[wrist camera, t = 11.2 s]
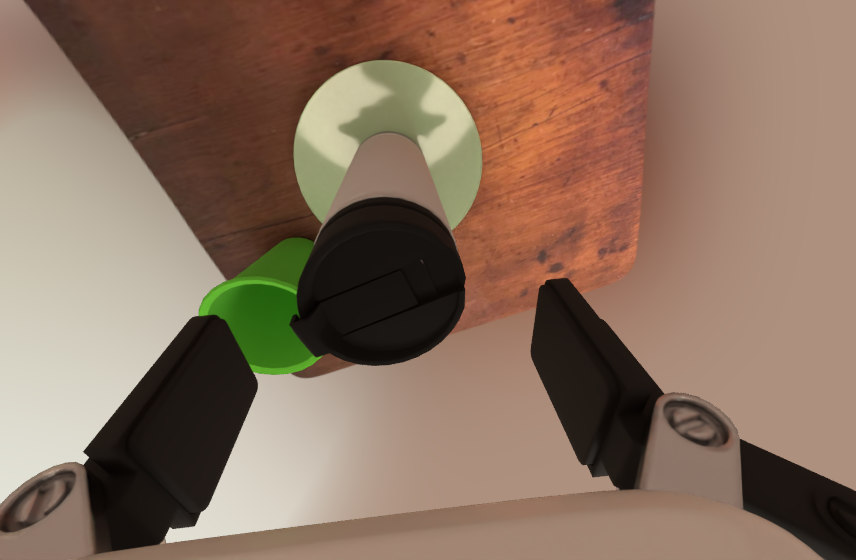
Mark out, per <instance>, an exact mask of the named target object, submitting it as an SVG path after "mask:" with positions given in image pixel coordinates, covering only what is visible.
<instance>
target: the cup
mask: <svg viewBox="0 0 856 560" xmlns="http://www.w3.org/2000/svg"><path fill="white" fill-rule="evenodd" d="M313 247H314V242H313V241H311V240H308V239H305V238H300V237H299V238H289V239H285V240H283V241H282V242H280V243H278V244H277V245H276V246H275V247H273V248H272V249H271V250H270V251H268V252H267V253H266V254H264V255H263V256H262V257H261V258H259V259H258V260H257V261H255V262H254V263H253V264H252V265H250V266H249V267H248V268H247V269H245V270H244V271H243V272H241V273H240V274H239V275H238V276H236V277H235V278H234V279H232V280H229V281H225V282H223V283H222V284H220V285H218V286H216V287H215V288H213V289H212V290H211V291H210V292H209V293H208V294H207V295H206V296H205V297H204V298H203V301H202V303H201V305H200V308H199V316H204V315H217V316H219V317H220V319H224V320H226V322H227V324H228V325H229V327H230V329H231V331H232V333H233V335H234V337H235V339H236V341H237V343H238V344H239V346H240V348H241V350H242V352H243V354H244V356H245V358H246V360H247V362H248V364H249V365H250V367H251V369H252V371H253V372H256V373H260V374H271V375H278V374H289V373H293V372H297V371H301V370H303V369H305V368H307V367H309V366H311V365H312V364H313V363H315V362H316V361H317V360H318V359H320V358H321V357H322V356H320V357H317V358H316V357H315V356H314V355H313V354H312V353H311V352H310V351H309V350H308V349H307V348H306V346H305V345H304V344H303V343H302V342H301V341H300V339H299V338H298V337H297V336H296V334H295V333H294V332H293V330H292V328H291V327H290V326H289V324H290V321H291V318H292V316H293V315H295V314H297V315H298V316H299V313H298V308H297V298H296V293H297V288H298V282H299V278H300V276H301V274H302V271H303V269H304V267H305V264H306V262H307V260H308V258H309V256H310V254H311V251H312V249H313ZM299 318H300V317H299Z"/></svg>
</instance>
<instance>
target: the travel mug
mask: <svg viewBox="0 0 856 560" xmlns="http://www.w3.org/2000/svg"><path fill="white" fill-rule="evenodd" d="M465 280H466V277H465V273H464V269H463V265H462V262H461V259H460V256H459V253H458V249H457V246H456V242H455V238H454V236H453V233H452V230H451V228H450V225H449V222H448V219H447V217H446V214H445V211H444V209H443V206H442V203H441V200H440V198H439V195H438V192H437V190H436V187H435V184H434V182H433V179H432V176H431V173H430V171H429V168H428V165H427V163H426V160H425V157H424V155H423V153H422V151H421V149H420V148H419V147H418V145H417V144H416V143H415V142H414V141H413V140H412V139H411V138H409V137H407V136H405V135H404V134H401V133H398V132H392V131H385V132H379V133H376V134H373V135H372V136H370V137H368V138H367V139H366V140H365V141H363V142H362V143H361V145H360V146H359V148H358V149H357V151H356V153H355V155H354V158H353V160H352V162H351V164H350V166H349V168H348V170H347V172H346V175H345V177H344V179H343V181H342V183H341V185H340V187H339V190H338V192H337V194H336V196H335V198H334V200H333V202H332V205H331V207H330V209H329V211H328V213H327V215H326V217H325V220H324V222H323V224H322V226H321V228H320V230H319V233H318V235H317V237H316V240H315V242H314V247H313V249H312V251H311V254H310V256H309V258H308V260H307V262H306V264H305V267H304V269H303V271H302V274H301V276H300V278H299V282H298V288H297V293H296V298H297V308H298V313H299V316H298V315H297V314H295V315H293V316H292V318H291V321H290V324H289V326H290V327H291V328H292V330H293V332H294V333H295V334H296V336H297V337H298V338H299V339H300V341H301V342H302V343H303V344H304V345H305V346H306V348H307V349H308V350H309V351H310V352H311V353H312V354H313V355H314V356H315V357H316V358H317V357H320V356H323V355H326V354H328V353H330V354H332V355H334V356H335V357H338V358H340V359H342V360H345V361H348V362H352V363H356V364H360V365H371V366H379V365H391V364H396V363H401V362H405V361H408V360H410V359H413V358H416V357H418V356H420V355H422V354H424V353H426V352H428V351H429V350H431V349H432V348H434V347H435V346H436V345H438V344H439V343H440V342H442V341H443V340H444V339H445V337H446V336H447V335H448V334H449V333H450V332H451V331H452V330H453V328H454V327H455V325H456V324H457V322H458V321H459V319H460V317H461V314H462V312H463V310H464V307H465V287H464V284H465ZM299 317H300V318H299Z"/></svg>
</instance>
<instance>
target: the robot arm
mask: <svg viewBox="0 0 856 560" xmlns="http://www.w3.org/2000/svg"><path fill="white" fill-rule="evenodd" d="M531 357H532V360H533V362H534V365H535V367H536V369H537V371H538V374H539V376H540V378H541V380H542V382H543V384H544V387H545V389H546V391H547V393H548V395H549V397H550V400H551V402H552V404H553V406H554V408H555V410H556V412H557V415H558V417H559V419H560V421H561V423H562V426H563V428H564V430H565V432H566V434H567V436H568V439H569V441H570V443H571V445H572V447H573V450H574V451H575V454H576V456H577V458H578V460H579V462H580V463H581V464H582V465H587V466H588V468H589V470H590V472H591V474H592V477H600V476H608V475H609V477H610V479H611V481H612V483H613V485H614V486H616V487H617V489H616V491H598V492H588V493H578V494H568V495H558V496H548V497H538V498H529V499H520V500H512V501H503V502H495V503H487V504H478V505H470V506H461V507H452V508H444V509H435V510H427V511H419V512H411V513H403V514H394V515H387V516H378V517H370V518H363V519H354V520H346V521H338V522H331V523H322V524H314V525H306V526H298V527H290V528H282V529H274V530H266V531H259V532H252V533H244V534H235V535H228V536H220V537H213V538H205V539H197V540H190V541H181V542H174V543H167V544H166V540H165V536H166V534H167V532H168V530H169V528H170V527H171V528H172V529H176V528H185V527H192V526H195V524H196V522H197V520H198V518H199V515H200V513H201V512H202V511H204V510H205V509H206V508H207V507H208V505H209V503H210V501H211V499H212V496H213V494H214V491H215V489H216V487H217V484H218V482H219V480H220V477H221V475H222V473H223V470H224V468H225V466H226V463H227V461H228V458H229V456H230V454H231V451H232V449H233V447H234V444H235V442H236V440H237V437H238V435H239V433H240V430H241V428H242V425H243V423H244V421H245V418H246V416H247V414H248V411H249V409H250V407H251V404H252V402H253V399H254V397H255V395H256V392H257V389H258V382H257V379H256V377H255V375H254V373H253V371H252V369H251V367H250V365H249V364H248V362H247V360H246V358H245V356H244V354H243V352H242V350H241V348H240V346H239V344H238V343H237V341H236V339H235V337H234V335H233V333H232V331H231V329H230V327H229V325H228V324H227V322H226V320H224V319H220V317H219V316H217V315H204V316H195V317H192V318H191V319H190V320H189V321H188V322H187V324H186V325H185V326H184V327H183V329H182V330H181V331H180V332H179V334H178V335H177V336H176V337H175V338H174V340H173V341H172V342H171V343H170V345H169V346H168V347H167V348H166V350H165V351H164V352H163V353H162V355H161V356H160V357H159V358H158V360H157V361H156V362H155V364H153V366H152V367H151V368H150V370H149V371H148V372H147V373H146V374H145V376H144V377H143V378H142V379H141V381H140V382H139V383H138V384H137V386H136V387H135V388H134V389H133V391H132V392H131V393H130V394H129V395H128V397H127V398H126V399H125V400H124V402H123V403H122V404H121V406H120V407H119V408H118V409H117V410H116V412H115V413H114V414H113V415H112V417H111V418H110V419H109V420H108V422H107V423H106V424H105V425H104V427H103V428H102V429H101V430H100V431H99V433H98V434H97V435H96V437H95V438H94V439H93V440H92V441H91V443H90V444H89V445H88V446H87V448H86V449H85V450H84V451H83V452H84V453H85V454H86V455H87V456H88V457H89V459H88V460H87V461H86V462H85V464H84V465H82V464H79V463H77V462H68V463H63V464H60V465H57V466H53V467H51V468H49V469H47V470H45V471H43V472H41V473H39V474H37V475H36V476H34V477H32V478H31V479H29V480H28V481H26V482H25V483H23V484H22V485H21V486H20V487H18V488H17V489H16V490H15V491H14V492H12V493H11V494H10V495H9V496H8V497H7V498H6V499H5V500H4V501H3V502H2V503H1V505H0V560H856V491H854V490H852V489H850V488H848V487H846V486H843V485H841V484H839V483H837V482H835V481H832V480H830V479H828V478H826V477H824V476H821V475H819V474H817V473H815V472H812V471H810V470H808V469H806V468H804V467H801V466H799V465H797V464H795V463H792V462H790V461H788V460H786V459H784V458H781V457H779V456H777V455H775V454H772V453H770V452H768V451H766V450H764V449H761V448H759V447H757V446H755V445H753V444H750V443H748V442H746V441H744V440H742V439H739V435H738V431H737V429H736V427H735V426H734V424H733V423H732V421H731V420H730V419H729V418H728V417H727V416H726V415H725V414H724V413H723V412H722V411H721V410H720V409H718V408H717V407H715V406H714V405H712V404H711V403H709V402H707V401H705V400H703V399H701V398H699V397H697V396H693V395H689V394H686V393H674V392H673V393H668V394H664V393H663V392H662V390H661V389H660V388H659V387H658V385H657V384H656V383H655V382H654V380H653V379H652V378H651V377H650V376H649V374H648V373H647V372H646V371H645V370H644V368H643V367H642V366H641V365H640V363H639V362H638V361H637V360H636V358H635V357H634V356H633V355H632V354H631V352H630V351H629V350H628V349H627V347H626V346H625V345H624V344H623V343H622V341H621V340H620V339H619V338H618V336H617V335H616V334H615V333H614V331H613V330H612V329H611V328H610V326H609V325H608V324H607V323H606V322H605V321H604V320H602V319H600V318H599V317H598V315H597V314H596V313H595V312H594V310H593V309H592V308H591V307H590V305H589V304H588V303H587V302H586V300H585V299H584V298H583V297H582V295H581V294H580V293H579V292H578V290H577V289H576V288H575V287H574V285H573V284H572V283H571V282H570V280H569V279H567V278H560V279H551V280H547V281H546V282H545V285H541V286H540V288H539V293H538V301H537V308H536V315H535V323H534V329H533V336H532V344H531Z"/></svg>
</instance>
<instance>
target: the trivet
mask: <svg viewBox="0 0 856 560" xmlns="http://www.w3.org/2000/svg"><path fill="white" fill-rule="evenodd" d="M385 131H392V132H398V133H401V134H404V135H405V136H407V137H409V138H411V139H412V140H413V141H414V142H415V143H416V144H417V145H418V147H419V148H420V149H421V151H422V153H423V155H424V157H425V160H426V163H427V165H428V168H429V171H430V173H431V176H432V179H433V182H434V184H435V187H436V190H437V192H438V195H439V198H440V200H441V203H442V206H443V209H444V211H445V214H446V217H447V219H448V222H449V225H450V228H451V230H453V229H454V228H455V227H456V226H457V225H458V224H459V223H460V222H461V221H462V219H463V218H464V217H465V215H466V214H467V212H468V211H469V209H470V207H471V205H472V203H473V201H474V199H475V197H476V194H477V191H478V188H479V184H480V179H481V174H482V148H481V142H480V137H479V134H478V130H477V127H476V124H475V122H474V120H473V118H472V115H471V113H470V111H469V110H468V108H467V107H466V105H465V103H464V102H463V100H462V99H461V98H460V97H459V96H458V94H457V93H456V92H455V91H454V90H453V89H452V88H451V87H450V86H449V85H448V84H447V83H445V82H444V81H443V80H442V79H440V78H439V77H437V76H436V75H434V74H433V73H431V72H429V71H427V70H425V69H423V68H421V67H419V66H416V65H412V64H409V63H406V62H401V61H394V60H374V61H368V62H362V63H359V64H356V65H353V66H350V67H348V68H346V69H344V70H342V71H340V72H338V73H336V74H335V75H333V76H332V77H331V78H329V79H328V80H327V81H325V82H324V83H323V84H322V85H321V86H320V87H319V88H318V89H317V90H316V91H315V93H314V94H313V96H312V97H311V98H310V100H309V101H308V102H307V104H306V106H305V108H304V110H303V112H302V114H301V116H300V119H299V122H298V125H297V128H296V134H295V139H294V152H293V156H294V168H295V172H296V177H297V181H298V184H299V187H300V190H301V192H302V194H303V196H304V198H305V201H306V203H307V204H308V206H309V207H310V209H311V210H312V212H313V213H314V215H315V216H316V217H317V218H318V219H319V221H320V222H321V223H322V224H323V222H324V220H325V217H326V215H327V213H328V211H329V209H330V207H331V205H332V202H333V200H334V198H335V196H336V194H337V192H338V190H339V187H340V185H341V183H342V181H343V179H344V177H345V175H346V172H347V170H348V168H349V166H350V164H351V162H352V160H353V158H354V155H355V153H356V151H357V149H358V148H359V146H360V145H361V143H362V142H363V141H365V140H366V139H367V138H368V137H370V136H372V135H373V134H376V133H379V132H385Z"/></svg>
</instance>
